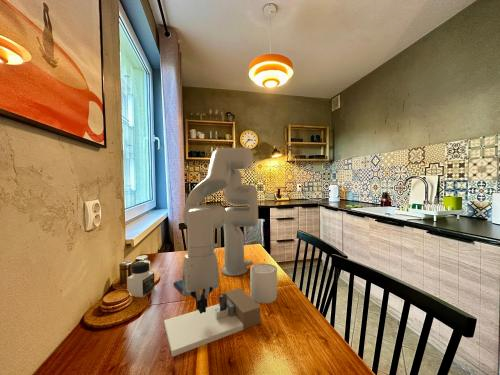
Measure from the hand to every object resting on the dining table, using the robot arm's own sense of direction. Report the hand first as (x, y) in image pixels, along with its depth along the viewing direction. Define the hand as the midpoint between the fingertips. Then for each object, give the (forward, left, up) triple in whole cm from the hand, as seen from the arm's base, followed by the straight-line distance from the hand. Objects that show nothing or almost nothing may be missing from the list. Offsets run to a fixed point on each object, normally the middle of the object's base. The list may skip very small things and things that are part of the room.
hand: (201, 310), depth 65 cm
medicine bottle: (+15, -33, -5) cm, 36 cm away
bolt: (-10, 0, -3) cm, 11 cm away
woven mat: (-3, -29, -6) cm, 30 cm away
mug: (-26, -7, -5) cm, 28 cm away
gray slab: (-3, 0, -5) cm, 6 cm away
